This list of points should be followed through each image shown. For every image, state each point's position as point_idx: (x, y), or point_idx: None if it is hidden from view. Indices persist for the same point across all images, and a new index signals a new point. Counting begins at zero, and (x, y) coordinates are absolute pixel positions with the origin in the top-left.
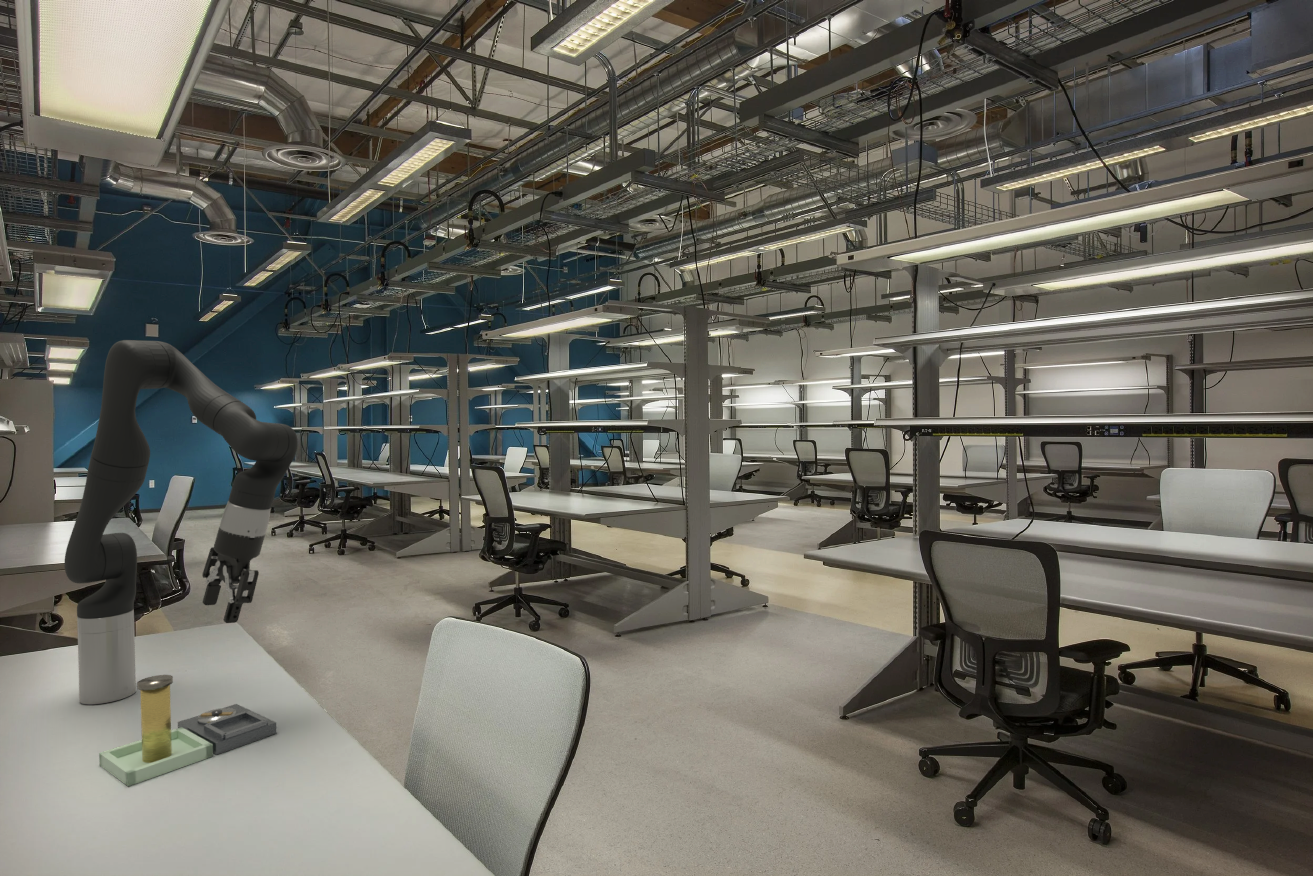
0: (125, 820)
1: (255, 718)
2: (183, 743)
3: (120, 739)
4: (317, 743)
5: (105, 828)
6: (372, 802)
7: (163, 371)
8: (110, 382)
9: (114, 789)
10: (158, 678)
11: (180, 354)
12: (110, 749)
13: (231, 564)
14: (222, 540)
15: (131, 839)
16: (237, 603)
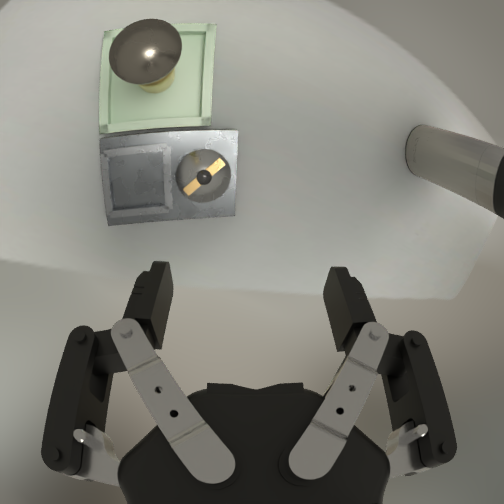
0: (36, 30)
1: (132, 208)
2: (171, 114)
3: (287, 80)
4: (52, 242)
5: (39, 15)
6: None
7: None
8: None
9: (120, 24)
10: (148, 57)
11: None
12: (215, 35)
13: (205, 492)
14: None
15: (2, 37)
16: (79, 328)
